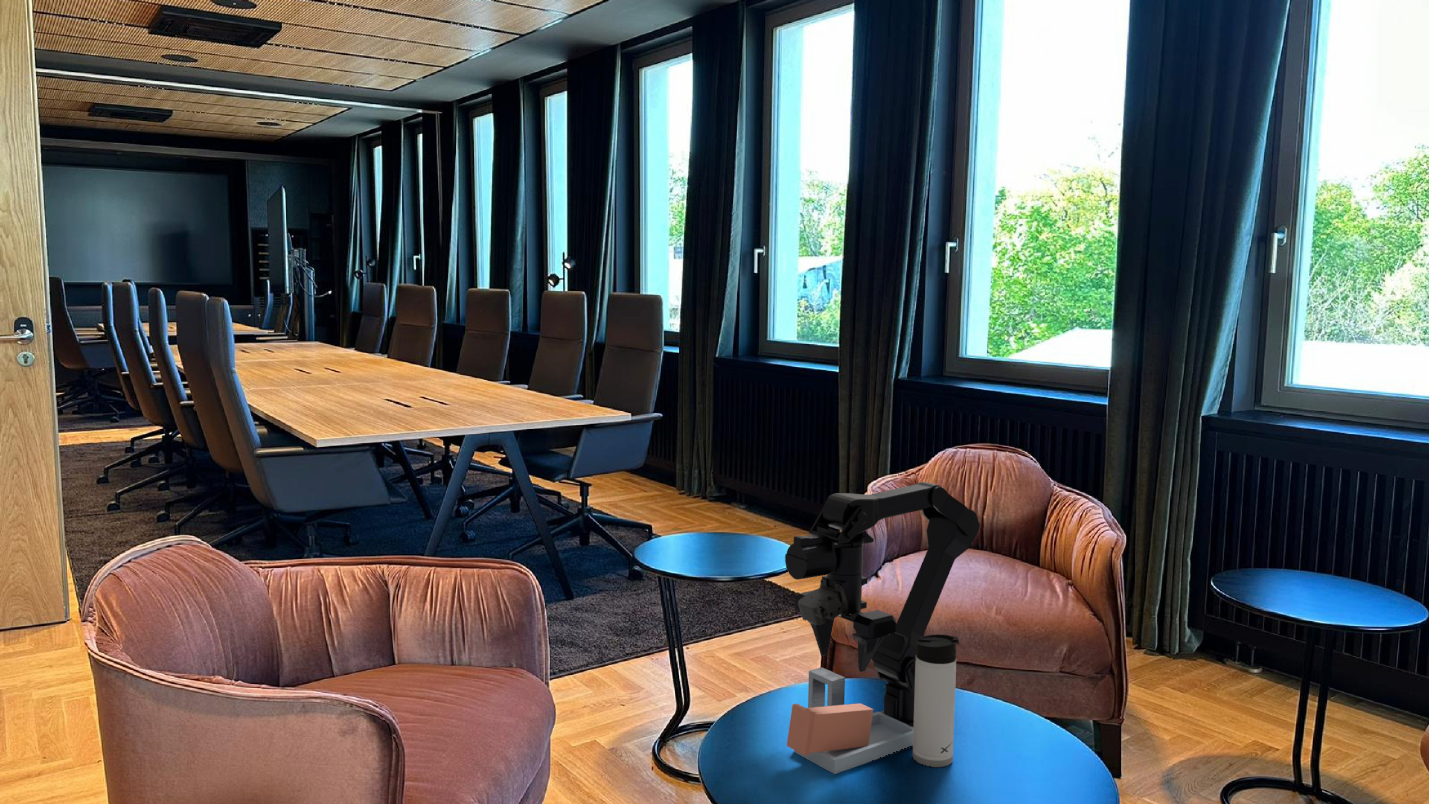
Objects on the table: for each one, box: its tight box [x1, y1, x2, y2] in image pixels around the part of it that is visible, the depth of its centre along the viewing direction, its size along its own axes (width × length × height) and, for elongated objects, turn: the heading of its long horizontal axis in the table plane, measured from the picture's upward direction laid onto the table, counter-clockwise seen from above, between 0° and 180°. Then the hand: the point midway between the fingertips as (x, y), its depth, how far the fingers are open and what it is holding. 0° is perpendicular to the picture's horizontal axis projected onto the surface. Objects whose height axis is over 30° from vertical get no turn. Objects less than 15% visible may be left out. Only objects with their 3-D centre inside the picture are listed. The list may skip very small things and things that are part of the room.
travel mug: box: [912, 633, 960, 768], centre depth 161 cm, size 6×7×20 cm
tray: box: [793, 711, 914, 775], centre depth 166 cm, size 19×10×2 cm, turn 126°
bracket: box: [807, 667, 846, 708], centre depth 178 cm, size 3×6×8 cm, turn 36°
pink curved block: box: [786, 703, 874, 756], centre depth 162 cm, size 14×4×7 cm, turn 126°
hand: (842, 663), depth 169 cm, fingers open, 9 cm apart
